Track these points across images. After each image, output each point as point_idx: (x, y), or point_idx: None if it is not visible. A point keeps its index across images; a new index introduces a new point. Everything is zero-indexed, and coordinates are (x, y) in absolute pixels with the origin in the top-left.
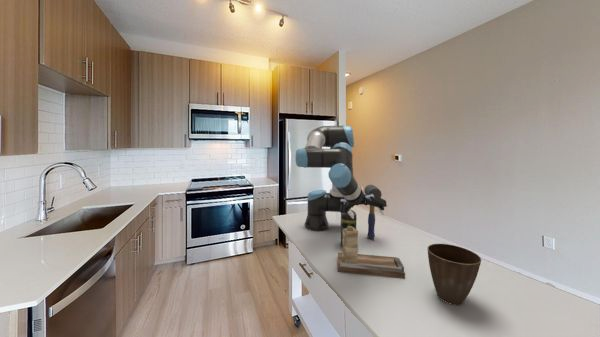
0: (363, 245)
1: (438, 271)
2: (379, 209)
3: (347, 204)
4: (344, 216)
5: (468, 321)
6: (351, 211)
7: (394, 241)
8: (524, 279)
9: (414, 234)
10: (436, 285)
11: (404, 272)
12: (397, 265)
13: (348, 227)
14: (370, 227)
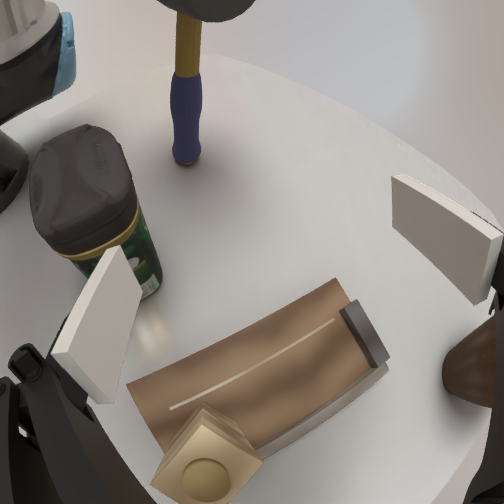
0: (180, 226)
1: None
2: (469, 293)
3: (68, 492)
4: (56, 240)
5: (476, 415)
6: (104, 294)
7: (264, 143)
8: (483, 208)
9: (290, 87)
10: (466, 398)
11: (386, 364)
12: (368, 353)
13: (198, 498)
14: (185, 131)
